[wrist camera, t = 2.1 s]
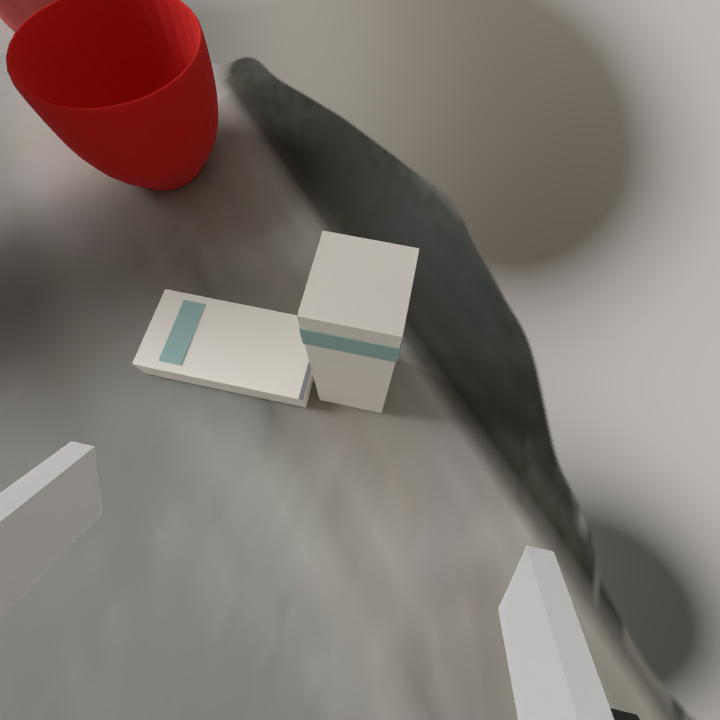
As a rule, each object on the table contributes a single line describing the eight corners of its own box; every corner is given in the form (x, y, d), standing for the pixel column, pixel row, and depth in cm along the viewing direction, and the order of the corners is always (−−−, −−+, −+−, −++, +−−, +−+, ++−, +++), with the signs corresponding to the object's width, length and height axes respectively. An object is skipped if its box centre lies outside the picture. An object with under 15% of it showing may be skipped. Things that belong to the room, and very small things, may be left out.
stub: (318, 400, 29) (295, 316, 17) (333, 342, 31) (321, 229, 19) (382, 414, 29) (403, 338, 17) (393, 354, 31) (420, 247, 19)
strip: (145, 373, 30) (131, 363, 28) (176, 302, 32) (164, 288, 30) (306, 407, 29) (302, 399, 27) (326, 332, 31) (324, 319, 29)
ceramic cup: (263, 90, 41) (236, -37, 32) (219, 228, 35) (170, 121, 25) (135, 76, 41) (72, -54, 32) (70, 210, 35) (-32, 98, 26)
